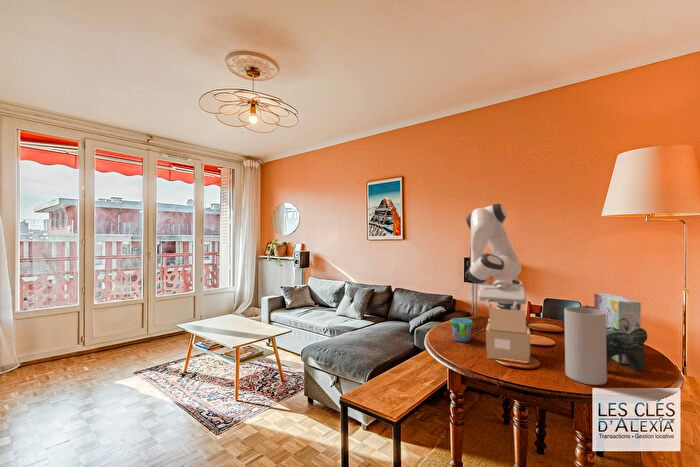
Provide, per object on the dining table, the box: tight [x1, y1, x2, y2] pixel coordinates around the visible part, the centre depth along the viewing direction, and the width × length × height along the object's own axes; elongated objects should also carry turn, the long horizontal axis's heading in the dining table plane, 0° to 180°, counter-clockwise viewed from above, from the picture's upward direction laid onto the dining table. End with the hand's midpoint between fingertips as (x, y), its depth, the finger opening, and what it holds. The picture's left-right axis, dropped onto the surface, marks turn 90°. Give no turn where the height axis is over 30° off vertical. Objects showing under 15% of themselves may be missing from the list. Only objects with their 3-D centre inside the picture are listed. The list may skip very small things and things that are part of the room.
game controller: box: [606, 319, 648, 372], centre depth 129 cm, size 20×6×20 cm, turn 91°
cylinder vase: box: [563, 306, 608, 386], centre depth 122 cm, size 12×12×25 cm
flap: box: [488, 307, 527, 333], centre depth 141 cm, size 9×14×1 cm
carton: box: [485, 322, 531, 363], centre depth 146 cm, size 15×17×12 cm
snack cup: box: [450, 317, 474, 343], centre depth 168 cm, size 16×10×10 cm
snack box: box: [593, 292, 642, 365], centre depth 144 cm, size 22×9×26 cm, turn 166°
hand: (500, 309), depth 150 cm, fingers open, 8 cm apart
